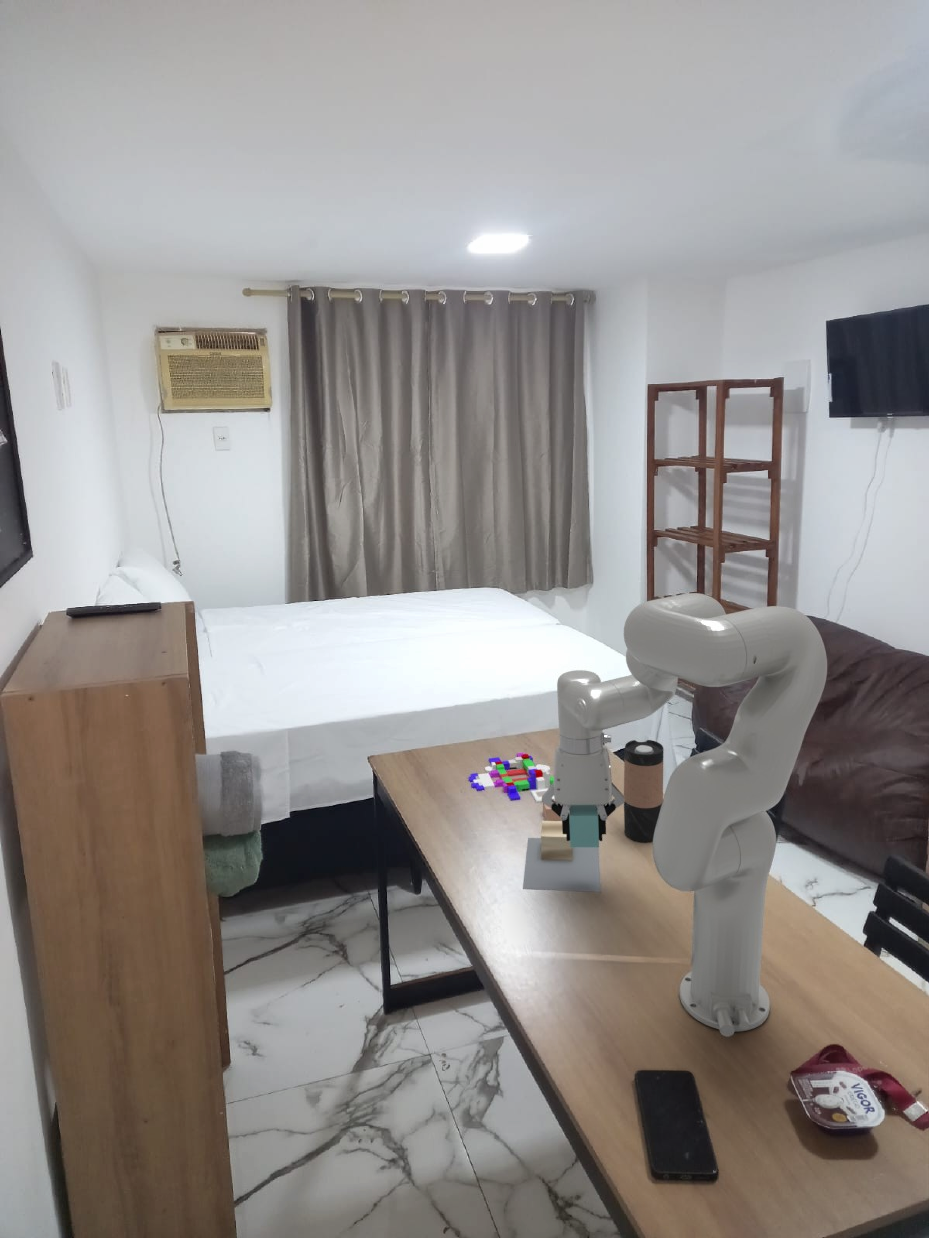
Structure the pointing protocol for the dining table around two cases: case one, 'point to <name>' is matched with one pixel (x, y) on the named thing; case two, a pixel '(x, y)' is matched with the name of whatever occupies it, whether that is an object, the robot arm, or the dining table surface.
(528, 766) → the building block set
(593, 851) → the build board
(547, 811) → the terracotta block
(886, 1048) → the dining table surface
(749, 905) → the robot arm
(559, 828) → the beech block
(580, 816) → the teal block
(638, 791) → the travel mug
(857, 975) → the dining table surface
